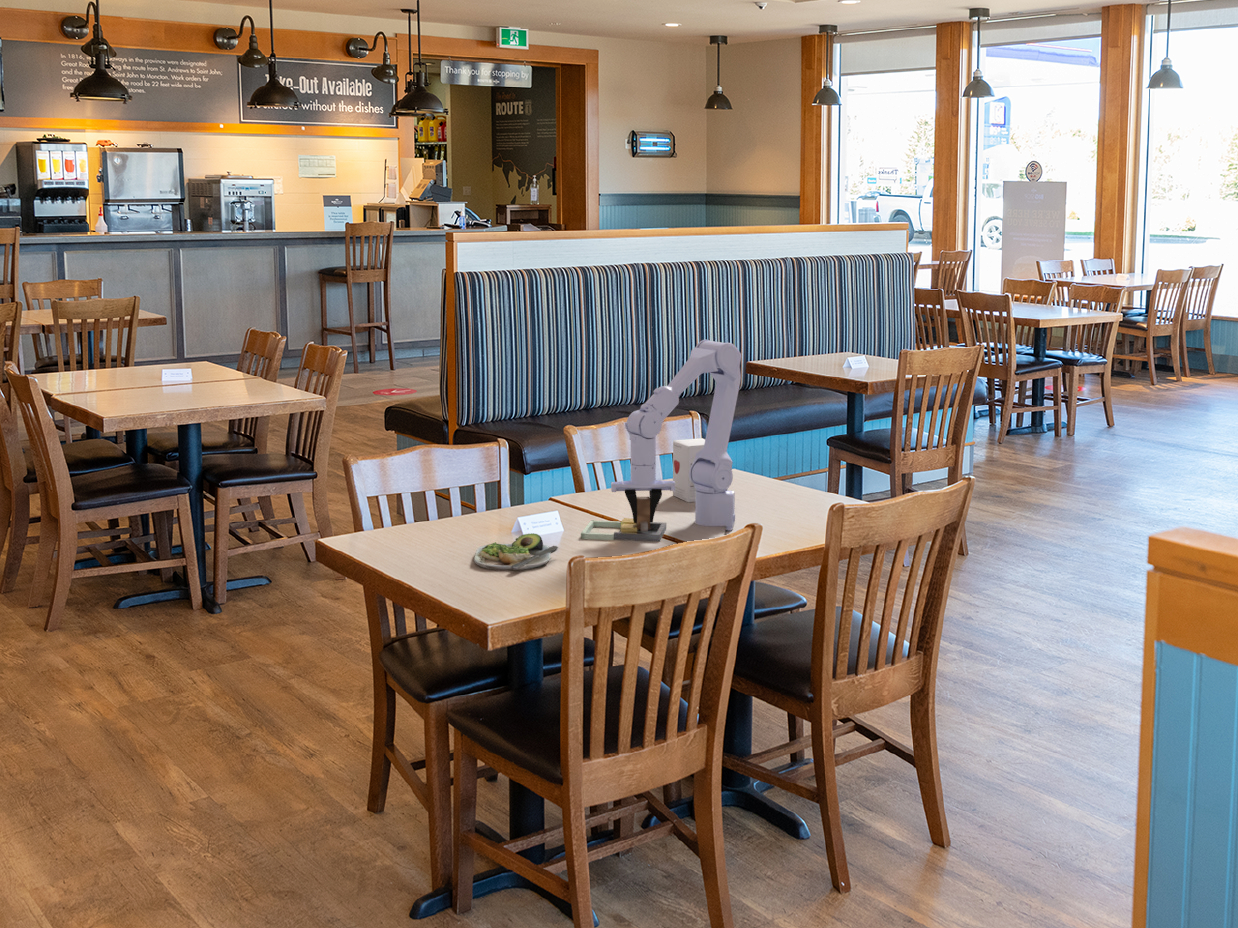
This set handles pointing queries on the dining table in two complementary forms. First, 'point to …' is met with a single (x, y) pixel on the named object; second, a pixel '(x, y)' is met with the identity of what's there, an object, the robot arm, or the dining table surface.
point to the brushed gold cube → (628, 521)
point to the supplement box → (685, 467)
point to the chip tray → (600, 536)
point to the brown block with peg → (643, 513)
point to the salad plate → (515, 553)
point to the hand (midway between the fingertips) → (643, 521)
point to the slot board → (643, 533)
